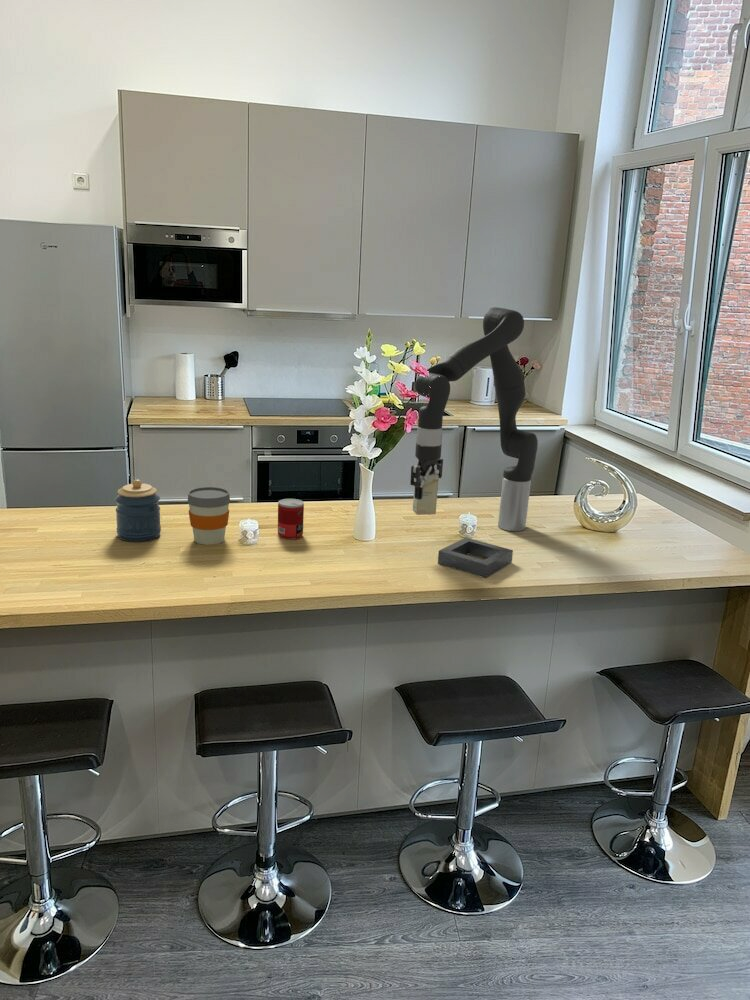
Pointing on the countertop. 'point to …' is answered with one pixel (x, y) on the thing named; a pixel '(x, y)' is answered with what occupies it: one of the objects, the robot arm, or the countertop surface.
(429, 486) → the skincare box
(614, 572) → the countertop surface
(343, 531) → the countertop surface
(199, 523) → the reusable coffee cup
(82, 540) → the countertop surface
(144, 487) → the canister
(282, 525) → the canned food
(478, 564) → the dark grey square frame
